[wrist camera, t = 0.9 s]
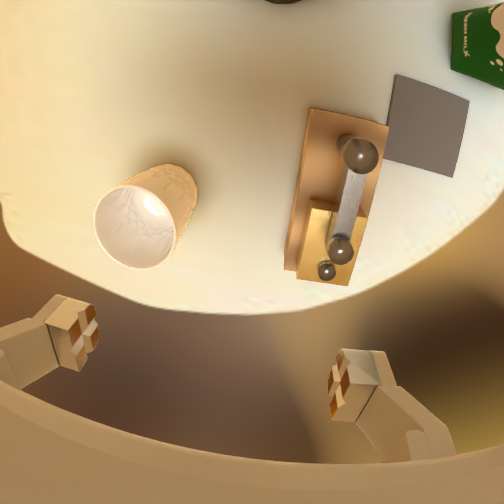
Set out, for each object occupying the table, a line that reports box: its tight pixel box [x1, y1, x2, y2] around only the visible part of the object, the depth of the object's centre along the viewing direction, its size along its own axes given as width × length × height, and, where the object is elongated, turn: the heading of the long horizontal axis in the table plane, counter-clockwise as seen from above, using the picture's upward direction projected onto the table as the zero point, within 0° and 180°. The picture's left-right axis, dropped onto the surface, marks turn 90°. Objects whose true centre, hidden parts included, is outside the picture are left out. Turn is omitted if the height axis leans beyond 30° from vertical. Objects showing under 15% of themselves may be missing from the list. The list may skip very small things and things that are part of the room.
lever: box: [325, 135, 379, 265], centre depth 24 cm, size 10×3×4 cm, turn 173°
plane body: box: [284, 108, 389, 271], centre depth 30 cm, size 16×7×7 cm, turn 173°
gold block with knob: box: [296, 197, 368, 286], centre depth 29 cm, size 7×5×4 cm
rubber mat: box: [383, 74, 470, 178], centre depth 28 cm, size 9×9×1 cm
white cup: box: [93, 163, 198, 271], centre depth 30 cm, size 8×8×10 cm
